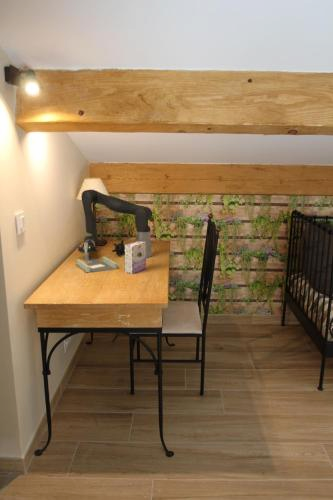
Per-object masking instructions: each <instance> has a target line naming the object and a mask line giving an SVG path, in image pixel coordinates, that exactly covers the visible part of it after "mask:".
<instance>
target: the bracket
mask: <svg viewBox="0 0 333 500" xmlns="http://www.w3.org/2000/svg"><path fill="white" fill-rule="evenodd" d="M83 244H84V252H85V253H83V255H84V263H93V262H99V258H89V257H90V256H89V255H90V254H89V253H87V250H88V242H85V243H84V242H83Z"/></svg>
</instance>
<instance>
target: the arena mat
mask: <svg viewBox="0 0 333 500" xmlns="http://www.w3.org/2000/svg"><path fill="white" fill-rule="evenodd" d="M84 263H85V264H87V265H88V266H90V272H91V273H98V272H103V271H104V272H105V271H114V270H115V269H114V268H113V267H111V266H109V265H108V264H106V263H105V262H103V260H102V261H101V260H100V261H98V262H84ZM75 266H76V267H77V268H79V270H81V271H83V272H84V273H85V274H89V273H90V272H87V271H85V270H84V269H83V268H81V267H80V266H79V265H77V263H76V264H75ZM116 270H119V267H117V269H116ZM91 273H90V274H91Z"/></svg>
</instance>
